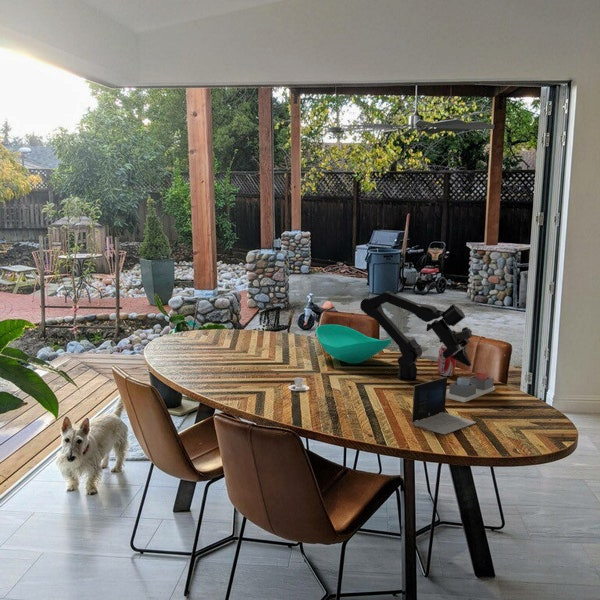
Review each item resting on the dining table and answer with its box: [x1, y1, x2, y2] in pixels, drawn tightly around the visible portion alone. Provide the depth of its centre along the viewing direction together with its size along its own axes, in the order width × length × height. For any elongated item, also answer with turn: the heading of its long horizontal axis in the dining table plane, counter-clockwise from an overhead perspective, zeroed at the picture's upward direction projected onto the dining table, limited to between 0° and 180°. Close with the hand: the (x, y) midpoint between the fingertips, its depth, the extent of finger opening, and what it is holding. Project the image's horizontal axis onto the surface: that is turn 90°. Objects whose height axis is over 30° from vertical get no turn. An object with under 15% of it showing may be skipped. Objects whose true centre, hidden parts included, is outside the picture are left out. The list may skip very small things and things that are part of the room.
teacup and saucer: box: [287, 376, 310, 392], centre depth 240 cm, size 9×8×4 cm
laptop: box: [411, 376, 477, 436], centre depth 205 cm, size 18×12×13 cm
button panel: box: [446, 374, 496, 403], centre depth 242 cm, size 10×24×5 cm, turn 138°
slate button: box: [456, 376, 470, 387], centre depth 236 cm, size 4×4×5 cm
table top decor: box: [315, 323, 393, 364], centre depth 284 cm, size 40×28×13 cm
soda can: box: [437, 344, 457, 377], centre depth 267 cm, size 7×7×12 cm
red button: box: [474, 370, 488, 380], centre depth 246 cm, size 4×4×5 cm
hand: (470, 365), depth 247 cm, fingers closed
